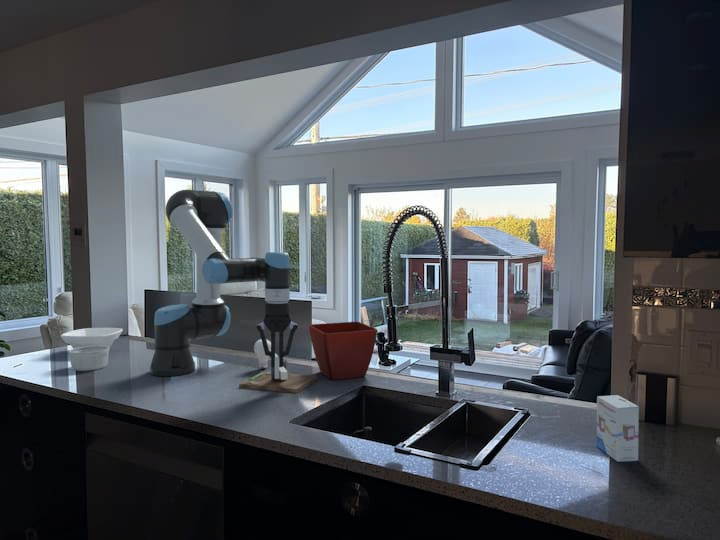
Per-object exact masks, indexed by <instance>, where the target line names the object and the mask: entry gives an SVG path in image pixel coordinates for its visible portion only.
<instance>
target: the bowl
mask: <svg viewBox="0 0 720 540" xmlns="http://www.w3.org/2000/svg"><path fill="white" fill-rule="evenodd" d="M122 332H123V328H119V327H88V328H79V329H75V330H70V331H67V332H63V334H61V335H60V338H61V339H62V340H63V341H64V343H65V344H69V345H70V347H71V348H72V349H75V348H79V347H86V346H108V347H109V349H110V348H111V346H112V345H113V343H114V341H115V340H117V339H119V337H120V335H121V334H122Z"/></svg>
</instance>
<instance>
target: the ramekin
mask: <svg viewBox="0 0 720 540" xmlns="http://www.w3.org/2000/svg"><path fill="white" fill-rule="evenodd" d="M109 352H110V348H109V347H108V346H86V347H79V348H75V349H73V348H72V349H70V350H69V351H68V355H69V360H70V365H71V368H72V370H74V371H77V372H89V371H96V370H100V369H103V368H106V366H107V365H108V363H109V362H108V361H109Z"/></svg>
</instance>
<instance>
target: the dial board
mask: <svg viewBox="0 0 720 540" xmlns="http://www.w3.org/2000/svg"><path fill="white" fill-rule="evenodd" d="M317 377H318V376H317V375H309V374H308V375H307V374H294V373H288V379H286V380H283V381H273V380H271V371H261V372H260V373H258V374H256V375H254V376H252V377H250V378H248V379H246V380H244V381H242V382H240V383H239V384H238V388H243V389H250V390H251V389H252V390H253V389H254V390H262V391H263V390H265V391H272V392H284V393H295V394H298V393H299V392H301V391H302V390H303V389H305V388H307V387H308V386H310V385H311V384H312V383H314V382H315V381H317V379H318V378H317Z"/></svg>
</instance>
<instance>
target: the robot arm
mask: <svg viewBox="0 0 720 540" xmlns="http://www.w3.org/2000/svg"><path fill="white" fill-rule="evenodd" d="M233 211H234V209H233V204H232V201H231V200H230V197H228V196H227V194H225V193H223V192H219V191H213V190H212V191H211V190H199V189H198V190H197V189H196V190H194V189H181V190H178V191H176V192H175V193H173V194H171V196H170V197H169V198H168V199H167V202H166V205H165V216H166V218H167V220H168V223H170V225H171V226H172V227H173V228H174V229H177V230H178V231H179V232H180V233H181V235H182V236H183V238H185V240H186V242H187V243H188V245H189V246H190V247H191V249H192V250H193V251H194V253H195V254H196V289H195V291H196V292H195V295H196V297H195V298H193V300H192V301H191V307H190V305H188V304H186V303H180V304H171V305H166V306H164V307H163V306H162V307H160V308H158V309H157V310H156V311H155V313H154V320H153V321H154V322H153V324H154V354H153V357H152V360H151V364H150V367H149V374H150V375H151V376H156V377H177V376H183V375H188V374H191V373H194V372H195V371H196V362H195V359H194V357H193V354H192V352H191V348H190V346H191V345H190V343H191V341H192V340H198V339H205V338H215V337H218V336H219V337H220V336H222V335H224V334H225V333H227V332H228V330H229V327H230V325H231V312H230V309H229V308H230V307H228V306H227V305H225V301H224V299H222V297H221V285H222V284H234V283H251V282H252V283H253V282H254V283H255V282H264V300H265V303H264V317H263V321H262V322H260V323H257V324H256V329H257V332H259V335H260V339H261V340H262V344H263V347H264V351H265V355H267V356H269V357H270V368H271V367H275V379H279V367H283V359H284V357H285V356H288V355H289V354H290V351H291V347H292V343H293V339H294V335H295V333H296V331H297V329H298V327H299V326H298V324H297V323H295V322H293V321H292V318H291V316H290V314H291V313H290V309H291V307H290V303H289V301H290V300H291V299H290V298H291V296H290V294H291V293H290V292H291V291H290V290H291V289H290V283H291V281H290V280H291V279H290V276H291V263H290V261H291V259H290V254H289V253H288V252H284V251H282V252H278V251H277V252H275V251H274V252H273V251H272V252H270V251H269V252H266V253H265V256H264V257H256V256H255V257H246V258H245V257H244V258H241V257H240V258H238V257H237V258H231V257H230V256H229V255H228V254H227V253H226V252H225V250H224V249H223V248H222V234H223V232H225V230H226V228H227V227H226V226H227V225H228V224H229V223H230V222H231V221H232V218H233V215H234V214H233ZM265 327H266V328H267V329H268V331H269V332H270V342H271V351H269V348H268V344H267V340H268V339H267V337H266V333H265ZM288 327H289V329H290V331H289V334H288V339H287V342H286V346H285V349H284V332H285V331H286V330H287V328H288ZM276 333H278V334H279V335H278V337H279V338H278V339H279V340H278V344H279V345H278V349H279V350H278V351H279V353H278V356H275V353H276ZM266 339H267V340H266Z"/></svg>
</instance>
